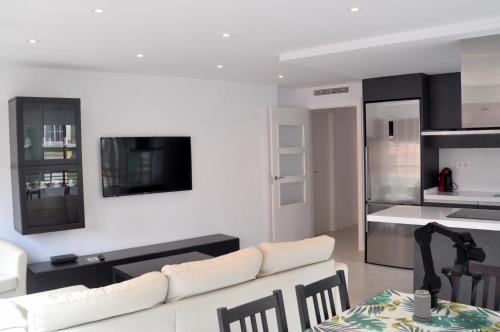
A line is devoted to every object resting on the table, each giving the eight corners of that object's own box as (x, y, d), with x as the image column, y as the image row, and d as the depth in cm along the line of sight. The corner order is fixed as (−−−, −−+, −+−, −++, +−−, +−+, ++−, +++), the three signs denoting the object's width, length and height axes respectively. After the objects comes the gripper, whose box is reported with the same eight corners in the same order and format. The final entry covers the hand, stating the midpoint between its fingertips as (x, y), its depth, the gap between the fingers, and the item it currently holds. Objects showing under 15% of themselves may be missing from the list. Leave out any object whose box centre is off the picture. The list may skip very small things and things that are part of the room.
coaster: (408, 319, 228) (408, 316, 228) (418, 314, 234) (418, 311, 234) (426, 324, 221) (426, 321, 221) (436, 318, 227) (436, 316, 227)
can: (428, 313, 231) (428, 288, 230) (432, 319, 224) (432, 293, 223) (412, 313, 232) (412, 288, 231) (416, 319, 224) (416, 293, 224)
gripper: (435, 258, 227) (435, 290, 228) (475, 264, 214) (475, 299, 214) (446, 254, 235) (446, 285, 236) (486, 260, 221) (486, 293, 222)
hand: (462, 291), depth 227 cm, fingers open, 9 cm apart
